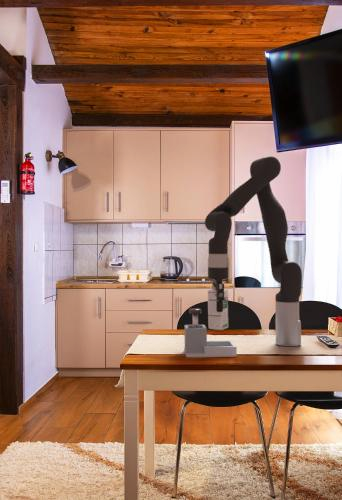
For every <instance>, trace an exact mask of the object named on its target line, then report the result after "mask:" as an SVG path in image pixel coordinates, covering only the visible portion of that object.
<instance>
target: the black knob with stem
mask: <svg viewBox="0 0 342 500" xmlns="http://www.w3.org/2000/svg"><path fill="white" fill-rule="evenodd" d="M188 312H189V313H188V314H191V315H192V325H193V328H198V325H199V315H200V314H202V309H201V308H197V307H196V308H189V311H188Z"/></svg>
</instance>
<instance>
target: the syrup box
mask: <svg viewBox="0 0 342 500" xmlns="http://www.w3.org/2000/svg"><path fill="white" fill-rule="evenodd" d="M216 293H217V291H216ZM219 297H222V296H221V295H220V296H219ZM229 318H230V317H229V290H228V289H227V288H224V301H223V312H217V310H216V296H215V295H214V289H208V290H207V319H208V320H207V324H208V329H210V330H218V331H223V330H225V329H228V328H230V326H229V323H230V322H229Z"/></svg>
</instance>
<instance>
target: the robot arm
mask: <svg viewBox="0 0 342 500" xmlns="http://www.w3.org/2000/svg"><path fill="white" fill-rule="evenodd" d="M281 168H282V166H281V162H280V161H279V159H278V158H277V157H275V156H273V155H272V156H271V155H269V156H264V157H260V158H257V159H255V160H253V161H252V162H251V163H250V166H249V174H250V178H248V180H246V181H245V182H244V183H242V184H241V185H239V186H237V188H235V189H234V191H232V192H231V193H230V194H229V195H228V196H227V197H226V199H225V200H224V201H223V202H222V203H220V204H219V205H217V206H216V207H215V208H213V209H211V211H210V212H209V213H208V214H207V215H206V217H205V220H204V225H205V228H206V230H208V231H210V232H214V235H213V237H212V238H210V239H209V240H208V258H207V278H208V280H212V283H211V284H212V285H211V288H212V289H214V295H215V296H216V310H217V312H223V301H224V289H225V283H223V280H228V279H229V253H228V251H229V250H228V249H229V248H228V244H229V243H228V242H229V239H230V235H231V230H232V226H233V225H232V224H233V223H232V217H235V216H237V215H238V214H239V213H240V212H241V211H242V210H243V209H244V208H245V206H246V205H247V204H248V203H249V202H251V200H252V199H253V198H254V197H255V196H256V197H257V201H258V204H259V205H258V206H259V210H260V213H261V220H262V225H263V229H264V232H265V237H266V243H267V247H268V252H269V259H270V261H269V262H270V269H271V275H272V278H273V279H274V281H275V282H277V283H279V284H280V287H279V288H280V289H279V291H278V292H277V293H276V294H275V298H274V299H275V344H276V345H278V346H282V347H283V346H284V347H297V346H302V321H301V320H300V297H301V295H302V284H303V282H302V281H303V279H302V278H303V276H302V275H303V272H302V268H301V267H300V264H299V263H297V262H295V261H289V258H288V254H287V250H286V248H287V245H286V244H287V237H288V233H289V232H288V230H289V227H288V220H287V215H286V212H285V209H284V208H283V206H282V205H281V203H280V202H279V200H278V199H277V198H276V197H275V195H274V193H273V191H272V187H271V182H272V181H274V180H275V179H277V177H279V175H280V174H281ZM212 289H211V290H212ZM216 291H217V293H216ZM220 295H221V296H222V297H219V296H220Z"/></svg>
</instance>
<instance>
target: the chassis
mask: <svg viewBox="0 0 342 500" xmlns="http://www.w3.org/2000/svg"><path fill="white" fill-rule="evenodd" d="M207 330H208V329H207V327H206V325H205V324H198V328H193V324H184V349H183V350H184V354H185V357H186V358H216V357H217V358H220V357H221V358H223V357H224V358H225V357H228V358H229V357H234V358H235V357H237V348H238V347H237V346H236V344H235V343H234V342H233V341H232V340H208V339H207V338H208V336H207Z"/></svg>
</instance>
